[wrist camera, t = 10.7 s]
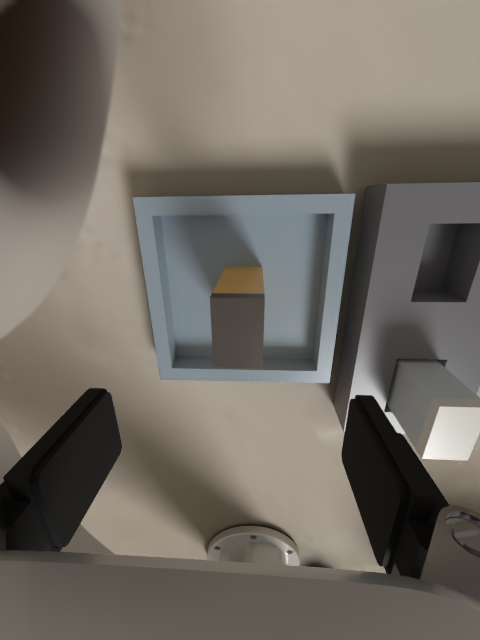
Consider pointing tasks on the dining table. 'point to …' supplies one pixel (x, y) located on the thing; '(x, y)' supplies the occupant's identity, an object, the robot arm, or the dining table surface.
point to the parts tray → (246, 250)
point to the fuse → (434, 409)
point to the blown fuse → (238, 318)
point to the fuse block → (412, 289)
